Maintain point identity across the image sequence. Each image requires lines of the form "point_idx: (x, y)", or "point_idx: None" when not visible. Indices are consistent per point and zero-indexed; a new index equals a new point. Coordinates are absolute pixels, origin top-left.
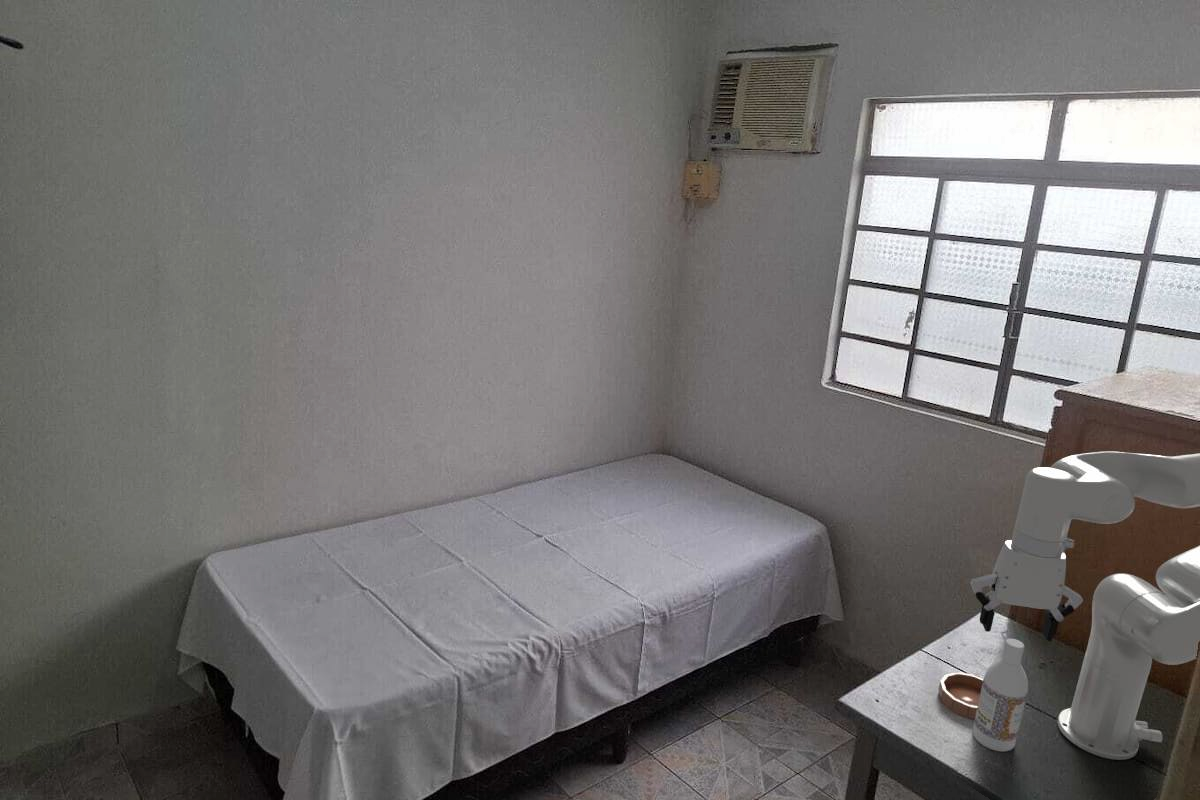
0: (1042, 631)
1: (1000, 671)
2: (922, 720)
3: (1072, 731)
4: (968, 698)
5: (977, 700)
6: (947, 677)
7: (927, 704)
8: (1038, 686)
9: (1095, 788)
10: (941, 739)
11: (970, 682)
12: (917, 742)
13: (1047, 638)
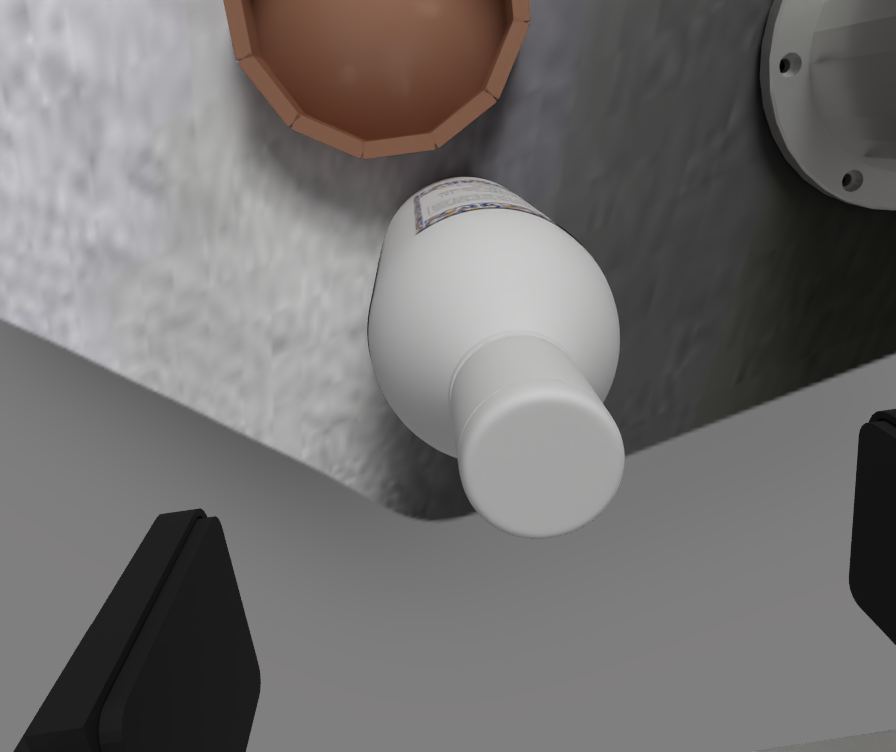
0: (868, 458)
1: (439, 439)
2: (181, 249)
3: (808, 104)
4: (376, 4)
5: (418, 2)
6: None
7: (193, 117)
8: None
9: (777, 390)
10: (263, 342)
11: None
12: (175, 396)
13: (868, 610)
